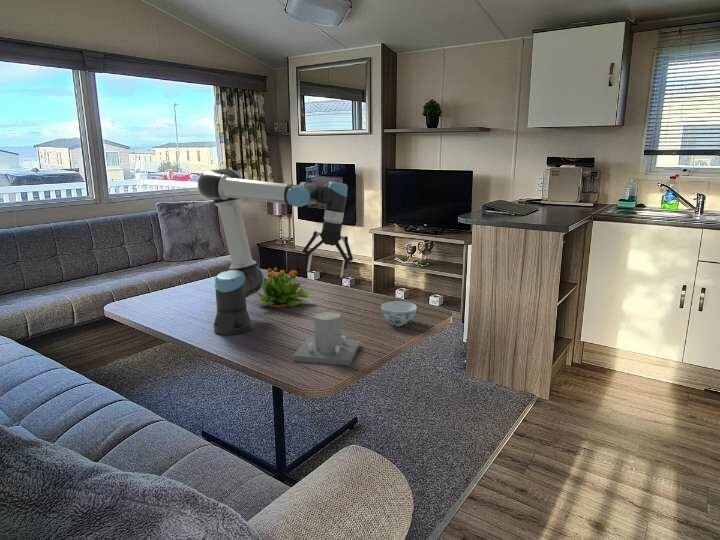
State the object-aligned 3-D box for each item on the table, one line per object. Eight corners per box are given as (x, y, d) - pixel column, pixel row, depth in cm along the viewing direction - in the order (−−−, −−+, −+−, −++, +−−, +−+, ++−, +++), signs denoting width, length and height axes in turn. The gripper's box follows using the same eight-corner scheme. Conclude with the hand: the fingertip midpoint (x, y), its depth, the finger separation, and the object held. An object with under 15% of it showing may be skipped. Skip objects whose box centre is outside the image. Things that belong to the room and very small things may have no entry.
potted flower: (275, 316, 219) (273, 278, 215) (240, 306, 233) (238, 270, 229) (313, 303, 238) (312, 268, 234) (279, 295, 252) (277, 261, 248)
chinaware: (373, 323, 210) (373, 306, 208) (396, 315, 220) (397, 299, 218) (400, 332, 199) (400, 314, 198) (423, 323, 210) (424, 306, 208)
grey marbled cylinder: (317, 354, 172) (316, 320, 170) (312, 344, 181) (311, 312, 179) (343, 351, 175) (343, 318, 172) (337, 341, 184) (337, 310, 181)
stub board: (293, 360, 172) (292, 347, 171) (308, 342, 189) (308, 329, 188) (349, 365, 168) (349, 351, 167) (359, 346, 185) (359, 333, 184)
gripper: (300, 217, 192) (292, 270, 196) (363, 227, 191) (354, 280, 195) (303, 215, 199) (296, 267, 203) (364, 226, 199) (355, 277, 202)
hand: (324, 273), depth 199 cm, fingers open, 13 cm apart
